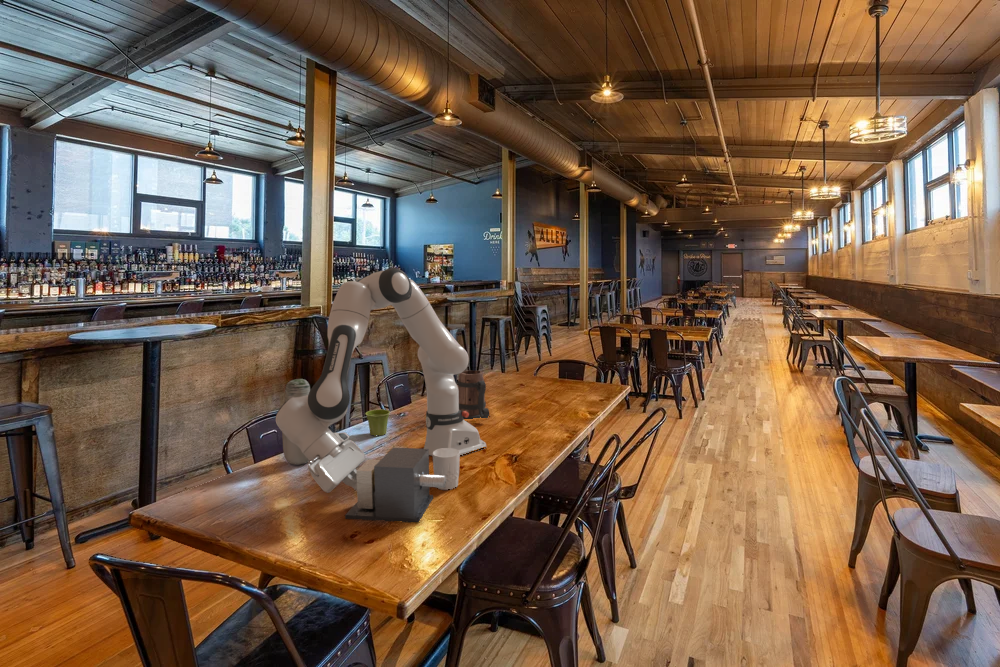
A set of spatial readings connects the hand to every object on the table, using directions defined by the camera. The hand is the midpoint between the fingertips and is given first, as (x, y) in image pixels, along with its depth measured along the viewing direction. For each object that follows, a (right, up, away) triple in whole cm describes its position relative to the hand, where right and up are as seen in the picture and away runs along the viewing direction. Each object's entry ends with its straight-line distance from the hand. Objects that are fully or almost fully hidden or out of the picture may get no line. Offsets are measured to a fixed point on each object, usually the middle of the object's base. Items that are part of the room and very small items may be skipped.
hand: (361, 487), depth 130 cm
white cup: (+21, -4, +14) cm, 26 cm away
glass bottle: (-29, -2, +32) cm, 44 cm away
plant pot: (-11, +1, +63) cm, 64 cm away
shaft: (+12, -4, -1) cm, 12 cm away
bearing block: (+8, -5, 0) cm, 10 cm away
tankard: (+26, +3, +86) cm, 89 cm away
